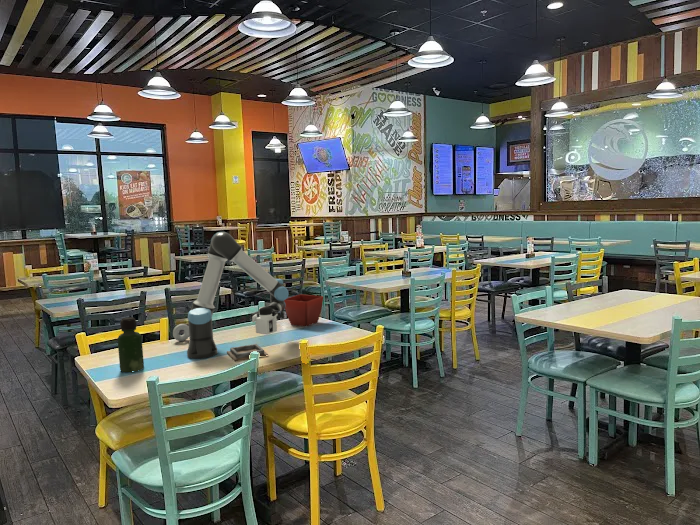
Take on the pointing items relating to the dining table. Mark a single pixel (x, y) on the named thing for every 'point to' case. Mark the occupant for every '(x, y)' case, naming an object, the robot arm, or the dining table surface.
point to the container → (265, 321)
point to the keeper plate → (244, 352)
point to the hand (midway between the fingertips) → (263, 319)
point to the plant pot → (303, 309)
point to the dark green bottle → (130, 346)
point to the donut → (178, 328)
